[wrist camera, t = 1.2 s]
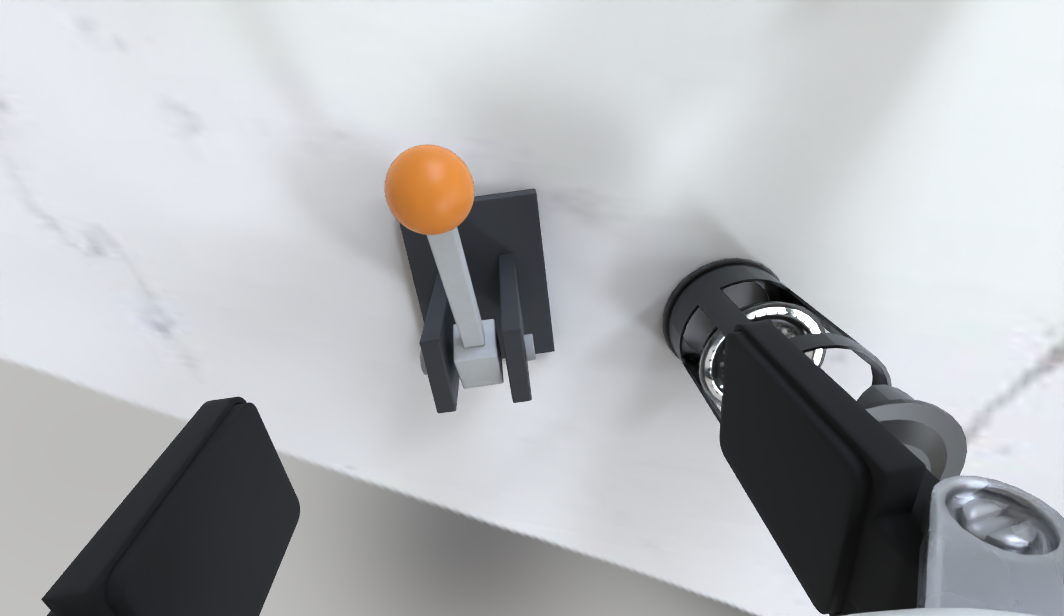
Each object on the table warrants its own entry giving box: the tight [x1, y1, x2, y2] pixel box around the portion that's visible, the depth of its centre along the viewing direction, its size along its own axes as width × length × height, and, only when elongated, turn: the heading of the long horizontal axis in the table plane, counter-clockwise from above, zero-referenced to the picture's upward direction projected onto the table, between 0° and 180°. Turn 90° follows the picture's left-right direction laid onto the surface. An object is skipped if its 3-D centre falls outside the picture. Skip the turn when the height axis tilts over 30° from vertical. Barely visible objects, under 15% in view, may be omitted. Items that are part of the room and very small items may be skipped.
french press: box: [663, 258, 967, 481], centre depth 28 cm, size 12×9×23 cm
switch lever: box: [385, 145, 504, 388], centre depth 23 cm, size 14×3×3 cm, turn 7°
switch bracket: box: [399, 189, 554, 413], centre depth 31 cm, size 12×9×12 cm
